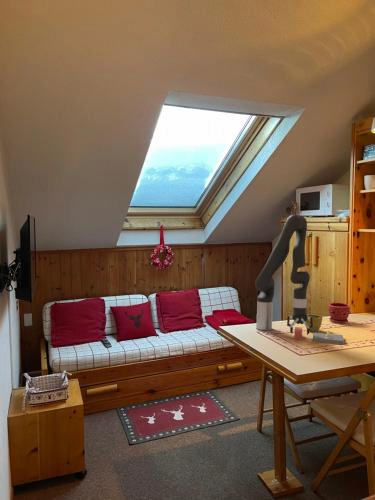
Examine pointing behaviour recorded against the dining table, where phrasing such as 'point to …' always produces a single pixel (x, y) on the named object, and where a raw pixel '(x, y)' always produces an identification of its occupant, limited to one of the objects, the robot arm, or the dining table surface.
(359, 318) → the dining table surface
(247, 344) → the dining table surface
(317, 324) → the flower pot
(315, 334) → the pin board
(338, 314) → the plant pot
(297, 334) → the socket housing
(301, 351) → the dining table surface
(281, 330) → the dining table surface
